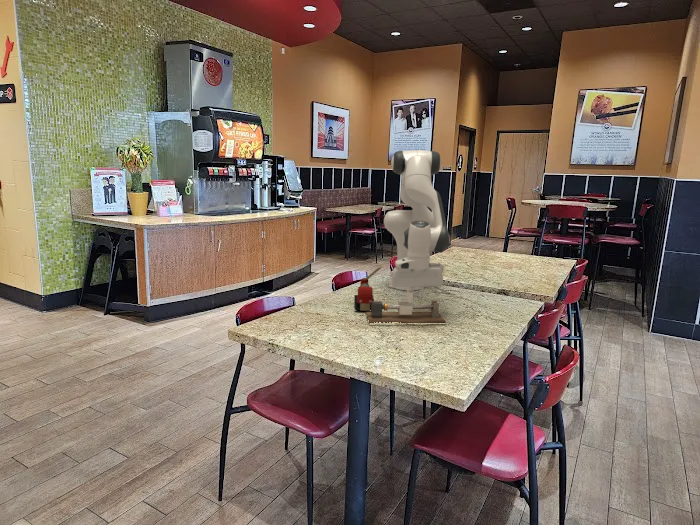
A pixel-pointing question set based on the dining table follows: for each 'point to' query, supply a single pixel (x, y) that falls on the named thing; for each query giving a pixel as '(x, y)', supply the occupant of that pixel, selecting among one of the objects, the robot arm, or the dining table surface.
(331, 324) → the dining table surface
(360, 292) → the toy fire truck
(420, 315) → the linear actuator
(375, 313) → the rod
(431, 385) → the dining table surface
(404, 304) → the sleeve
